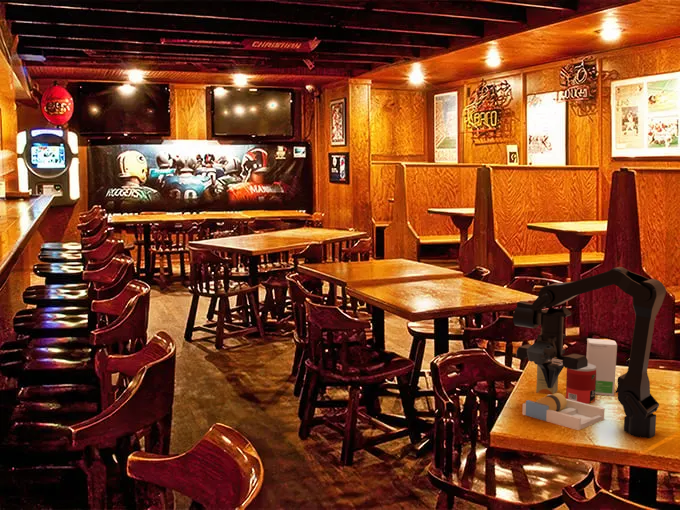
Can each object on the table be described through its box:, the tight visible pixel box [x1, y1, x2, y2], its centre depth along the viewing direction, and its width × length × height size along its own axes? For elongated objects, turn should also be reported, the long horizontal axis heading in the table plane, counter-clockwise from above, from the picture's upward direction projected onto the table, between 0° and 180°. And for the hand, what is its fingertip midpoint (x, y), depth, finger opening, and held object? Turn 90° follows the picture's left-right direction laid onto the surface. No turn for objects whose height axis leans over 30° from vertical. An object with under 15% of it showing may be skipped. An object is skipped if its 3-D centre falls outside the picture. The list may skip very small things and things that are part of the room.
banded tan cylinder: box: [535, 392, 567, 412], centre depth 207 cm, size 8×5×5 cm, turn 132°
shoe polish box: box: [536, 357, 559, 395], centre depth 227 cm, size 5×5×12 cm
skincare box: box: [585, 337, 618, 397], centre depth 229 cm, size 8×7×16 cm
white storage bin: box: [522, 394, 605, 431], centre depth 204 cm, size 17×12×5 cm
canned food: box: [565, 363, 596, 405], centre depth 219 cm, size 8×8×11 cm
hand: (550, 387), depth 206 cm, fingers closed
